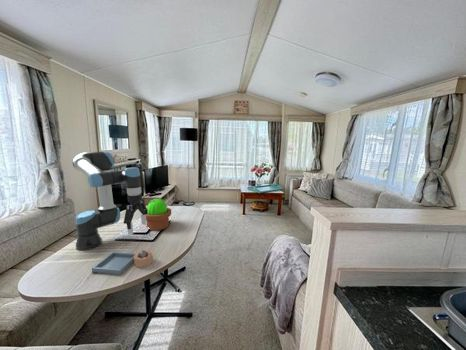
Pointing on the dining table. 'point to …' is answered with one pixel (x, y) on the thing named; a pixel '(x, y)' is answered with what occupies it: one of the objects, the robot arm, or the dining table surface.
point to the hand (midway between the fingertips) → (137, 229)
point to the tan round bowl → (143, 259)
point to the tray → (114, 263)
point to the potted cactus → (157, 215)
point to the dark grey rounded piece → (142, 255)
